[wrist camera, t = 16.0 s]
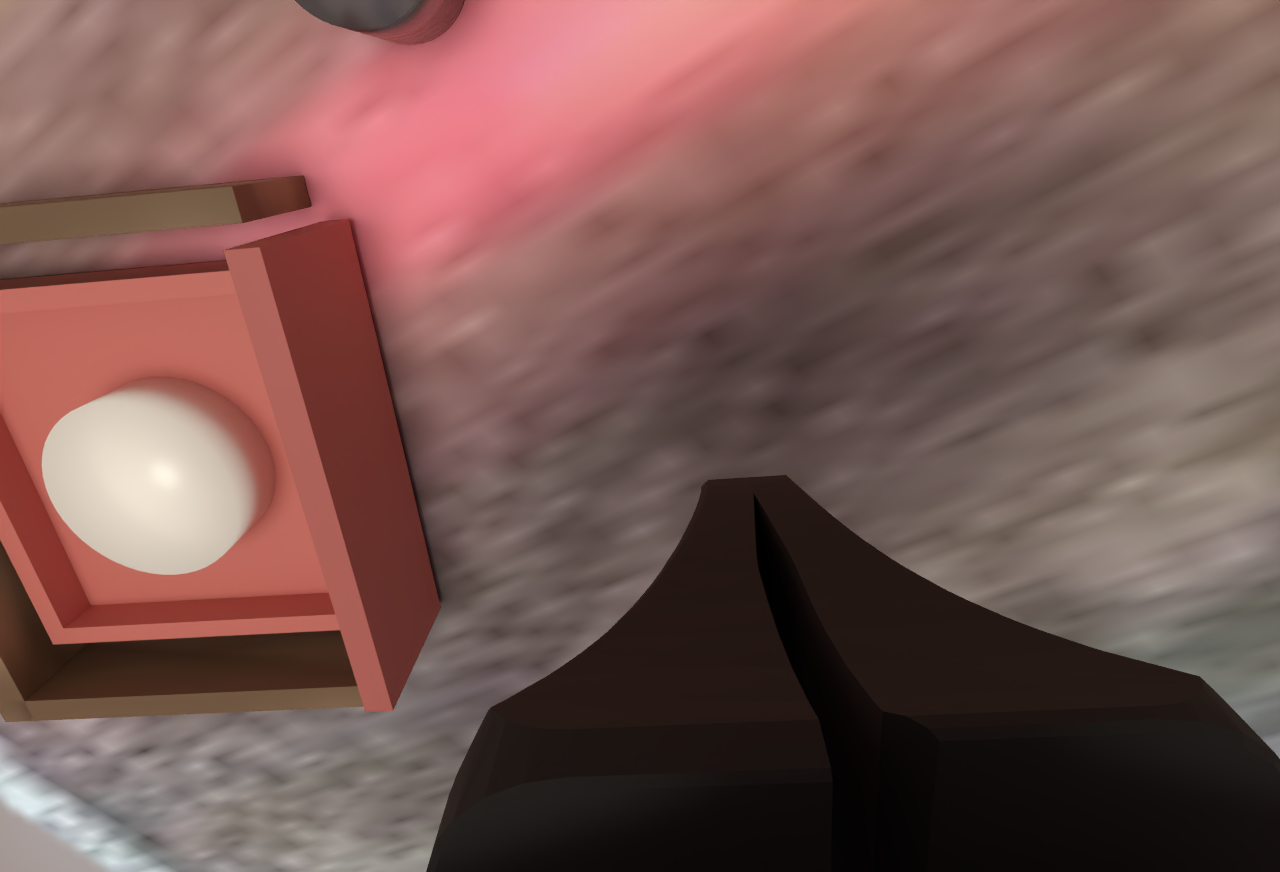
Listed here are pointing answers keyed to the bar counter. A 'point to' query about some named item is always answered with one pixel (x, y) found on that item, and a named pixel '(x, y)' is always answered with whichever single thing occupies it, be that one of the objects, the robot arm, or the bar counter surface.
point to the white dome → (159, 474)
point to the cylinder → (388, 17)
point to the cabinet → (160, 668)
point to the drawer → (283, 413)
